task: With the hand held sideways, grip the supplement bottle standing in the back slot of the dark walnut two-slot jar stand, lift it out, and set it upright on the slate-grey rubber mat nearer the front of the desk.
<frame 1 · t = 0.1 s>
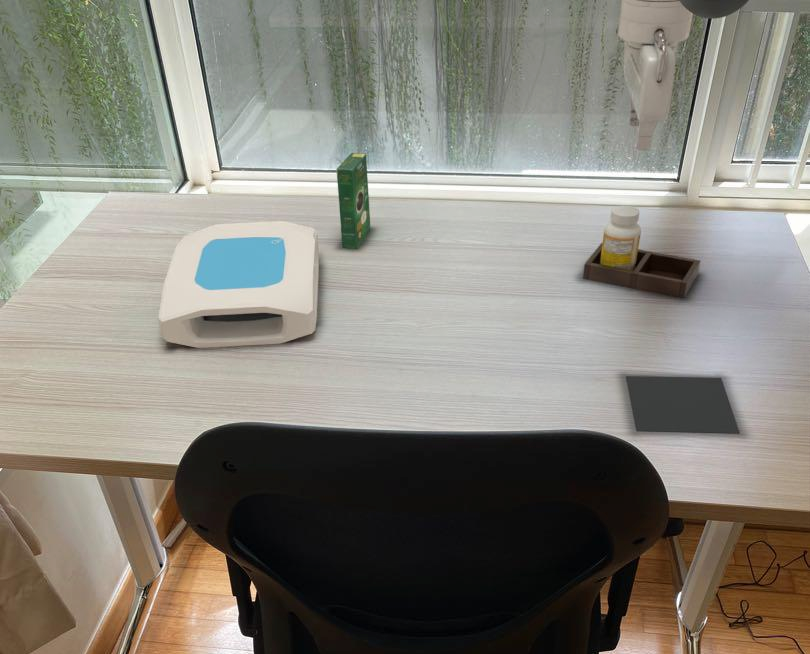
hand: (638, 136, 119), 21 cm above the table, tool pointing down, fingers open, 8 cm apart
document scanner: (248, 301, 132), on the table
jar stand: (639, 279, 133), on the table
coffee box: (357, 242, 146), on the table
mat: (679, 406, 108), on the table
supplement bottle: (616, 273, 134), resting on jar stand
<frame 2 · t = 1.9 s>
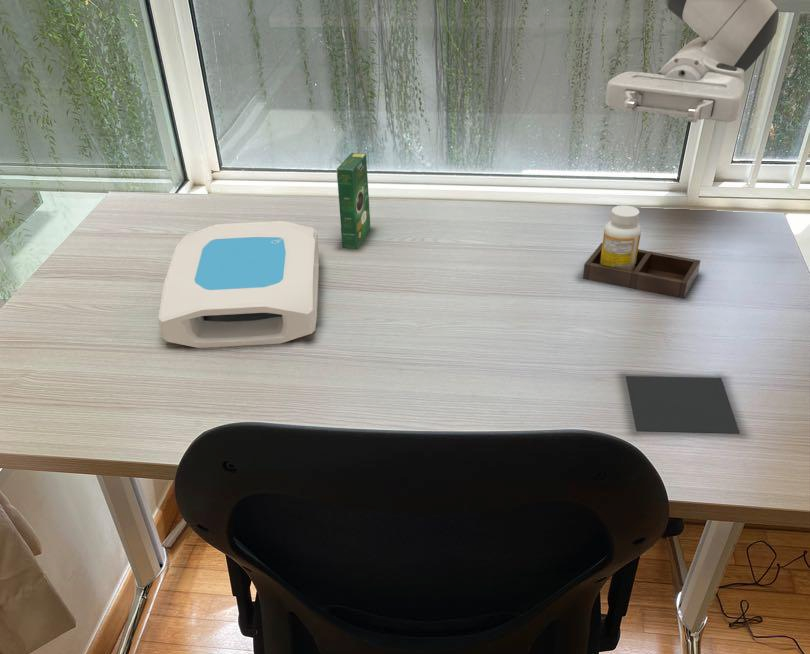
hand: (659, 112, 128), 20 cm above the table, tool horizontal, fingers open, 8 cm apart
nothing on the table moved.
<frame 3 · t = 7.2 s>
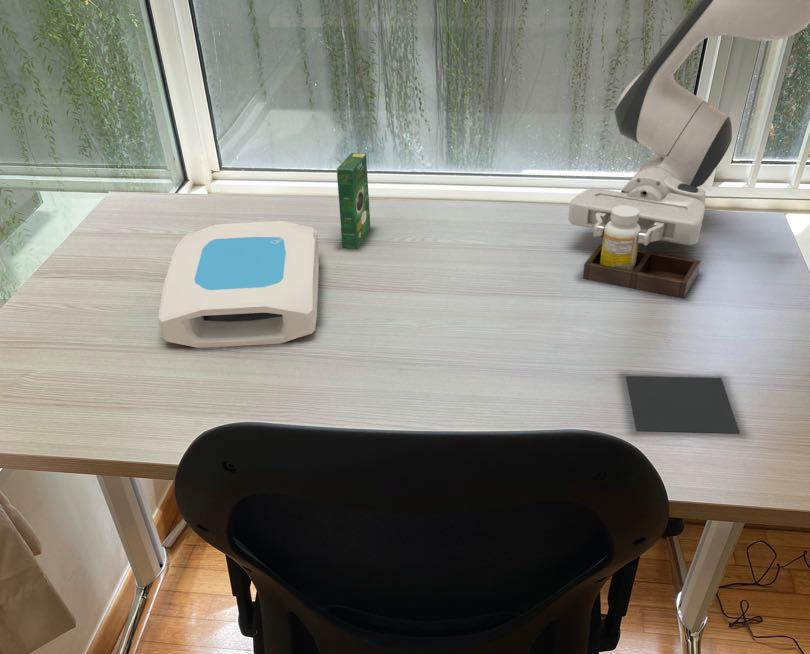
hand: (620, 236, 129), 7 cm above the table, tool horizontal, fingers closed on supplement bottle, 5 cm apart
supplement bottle: (616, 273, 134), resting on jar stand, touching gripper
everything else where it was.
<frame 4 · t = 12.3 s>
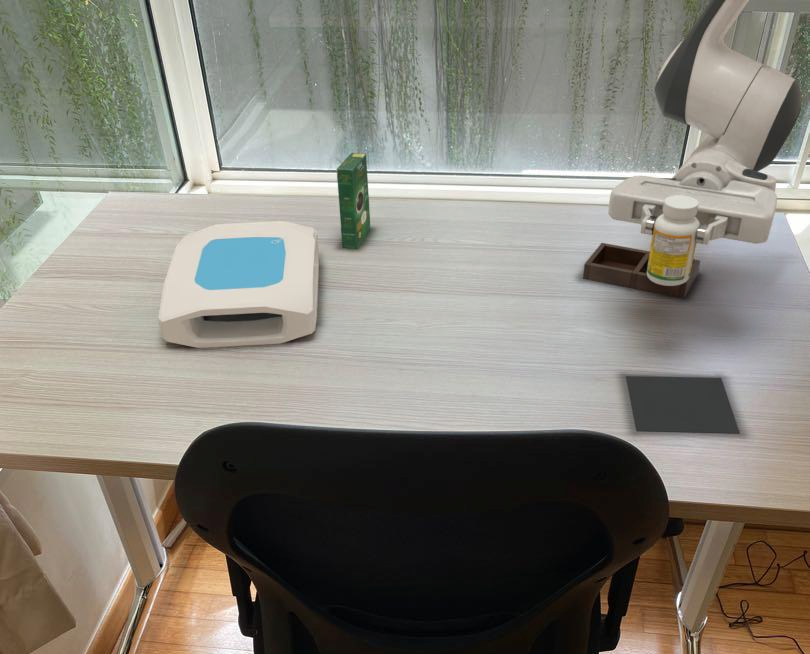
hand: (674, 233, 106), 17 cm above the table, tool horizontal, fingers closed on supplement bottle, 5 cm apart
supplement bottle: (667, 278, 111), point 10 cm above the table, touching gripper
everything else where it was.
when the fingers open (7 cm above the table, at t = 17.3 s): supplement bottle stays where it is, resting on mat.
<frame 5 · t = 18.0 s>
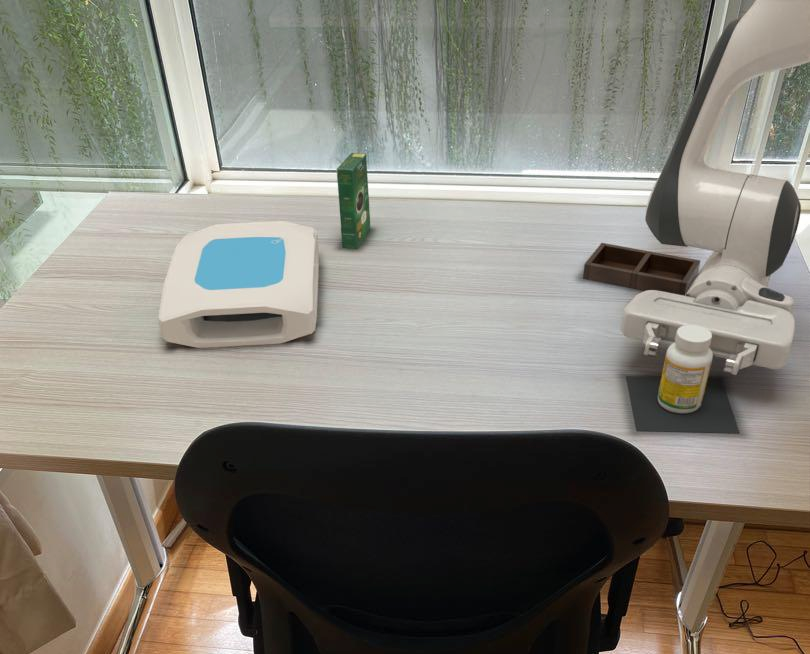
hand: (689, 359, 103), 7 cm above the table, tool horizontal, fingers open, 8 cm apart
supplement bottle: (678, 403, 108), resting on mat
everything else where it was.
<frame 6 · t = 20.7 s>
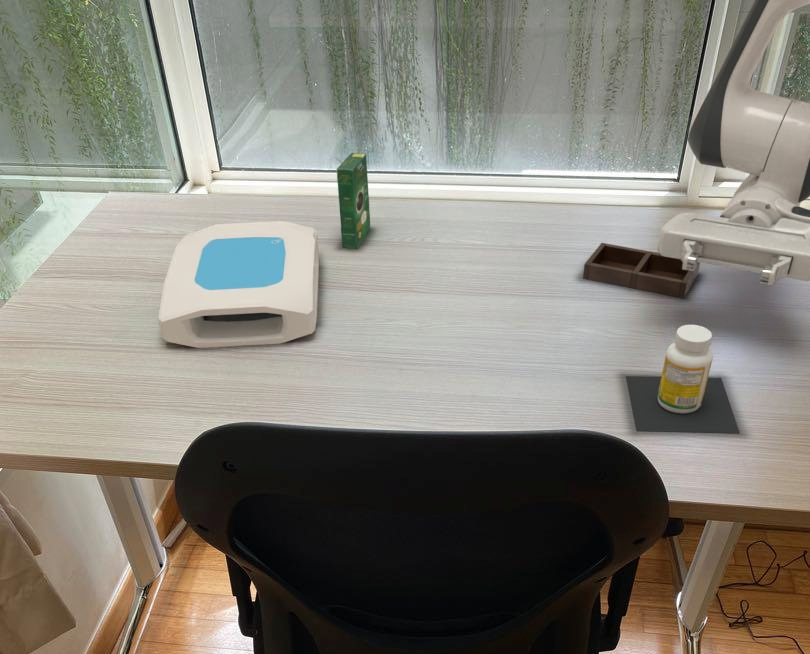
hand: (727, 271, 107), 13 cm above the table, tool horizontal, fingers open, 8 cm apart
nothing on the table moved.
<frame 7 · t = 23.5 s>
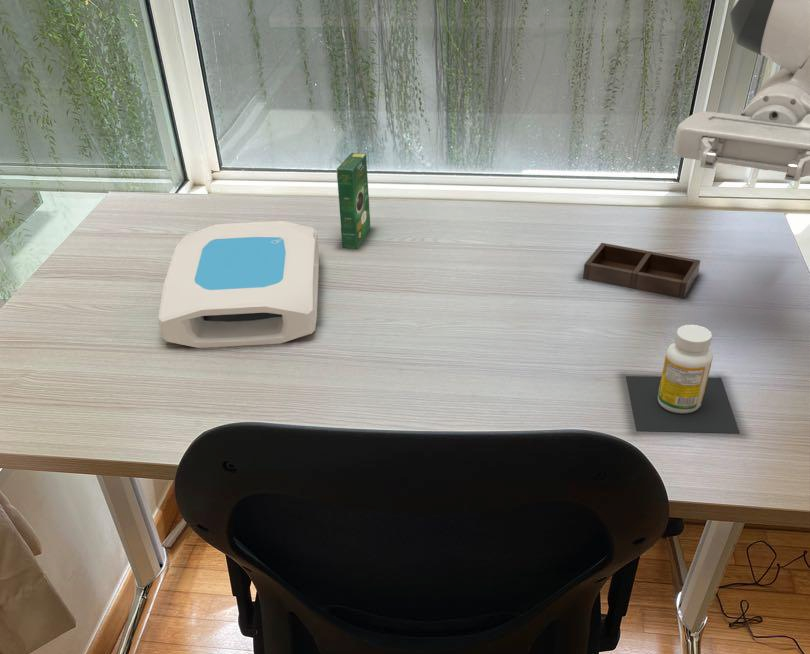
hand: (749, 167, 99), 25 cm above the table, tool horizontal, fingers open, 8 cm apart
nothing on the table moved.
at the end: supplement bottle inside the target area on the mat (0.2 cm from its centre), point 0.3 cm above the mat's base; supplement bottle tilted 0°; supplement bottle touching mat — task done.
